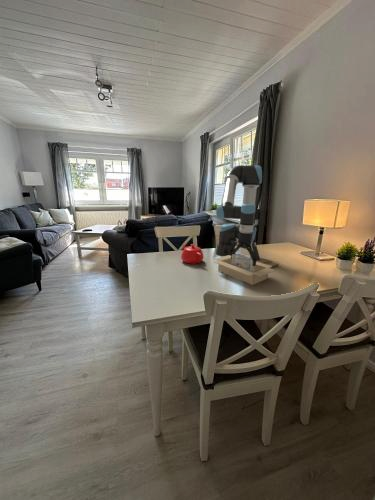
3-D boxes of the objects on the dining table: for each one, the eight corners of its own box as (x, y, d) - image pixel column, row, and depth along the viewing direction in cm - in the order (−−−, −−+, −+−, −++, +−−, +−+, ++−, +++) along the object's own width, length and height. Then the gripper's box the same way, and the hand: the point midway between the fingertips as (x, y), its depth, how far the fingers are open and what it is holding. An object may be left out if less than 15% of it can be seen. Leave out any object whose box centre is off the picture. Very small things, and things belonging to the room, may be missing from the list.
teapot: (211, 264, 142) (212, 247, 138) (191, 268, 134) (192, 250, 130) (191, 254, 162) (191, 239, 159) (173, 257, 154) (173, 241, 151)
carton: (208, 270, 132) (209, 260, 130) (232, 263, 145) (232, 253, 144) (254, 289, 108) (255, 278, 106) (277, 279, 121) (278, 268, 119)
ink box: (233, 274, 126) (235, 255, 123) (235, 271, 131) (237, 253, 127) (247, 277, 123) (249, 258, 119) (249, 274, 127) (251, 255, 123)
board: (248, 263, 145) (248, 262, 144) (260, 260, 153) (260, 258, 153) (266, 270, 134) (267, 268, 134) (278, 265, 143) (278, 263, 142)
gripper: (224, 229, 126) (222, 262, 132) (261, 236, 108) (256, 275, 113) (232, 228, 131) (230, 260, 137) (269, 235, 112) (264, 272, 118)
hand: (242, 267), depth 125 cm, fingers open, 13 cm apart
